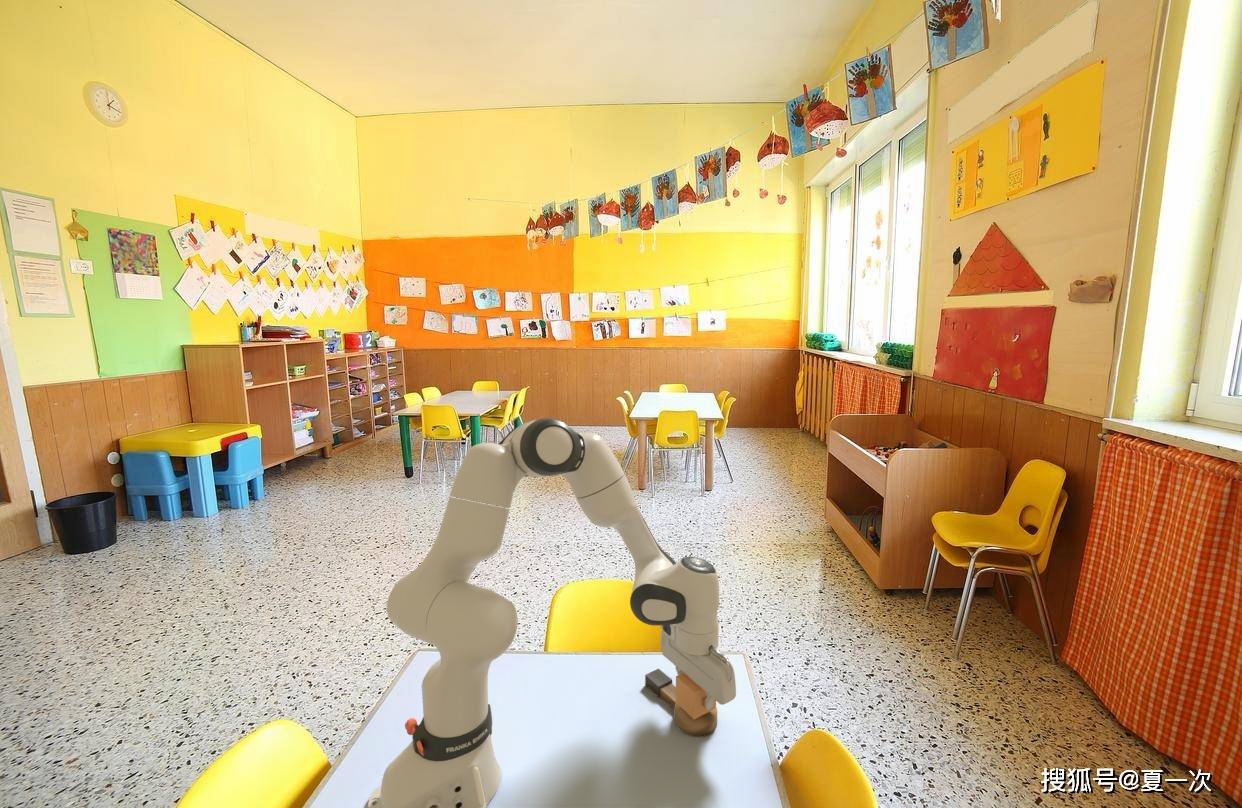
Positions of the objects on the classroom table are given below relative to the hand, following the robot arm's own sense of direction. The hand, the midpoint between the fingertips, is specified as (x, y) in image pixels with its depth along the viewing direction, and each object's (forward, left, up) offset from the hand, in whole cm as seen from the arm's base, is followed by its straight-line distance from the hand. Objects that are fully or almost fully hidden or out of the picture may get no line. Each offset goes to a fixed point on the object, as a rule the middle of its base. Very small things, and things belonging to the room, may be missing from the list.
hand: (695, 696), depth 110 cm
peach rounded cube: (0, 0, -2) cm, 2 cm away
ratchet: (0, +5, -6) cm, 8 cm away
